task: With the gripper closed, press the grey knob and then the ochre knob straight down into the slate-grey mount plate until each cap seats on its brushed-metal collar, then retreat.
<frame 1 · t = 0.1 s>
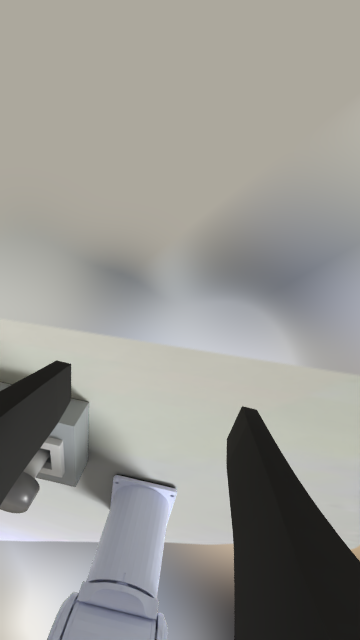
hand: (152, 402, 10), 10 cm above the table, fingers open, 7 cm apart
knob 2: (25, 471, 23), point 5 cm above the table, slide at 0.0 cm
mount plate: (20, 418, 27), on the table
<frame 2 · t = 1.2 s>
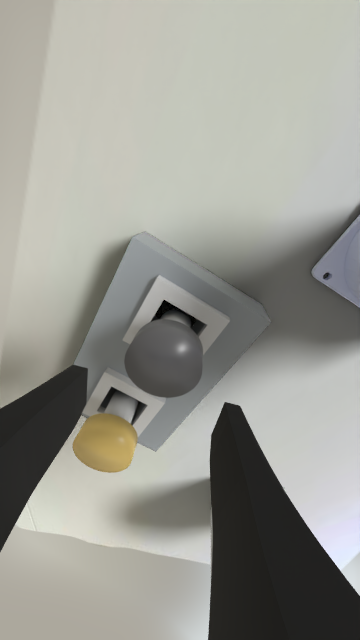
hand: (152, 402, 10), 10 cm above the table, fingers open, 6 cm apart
knob 2: (170, 342, 14), point 5 cm above the table, slide at 0.0 cm
mount plate: (155, 347, 21), on the table
knob 1: (115, 422, 18), point 5 cm above the table, slide at 0.0 cm
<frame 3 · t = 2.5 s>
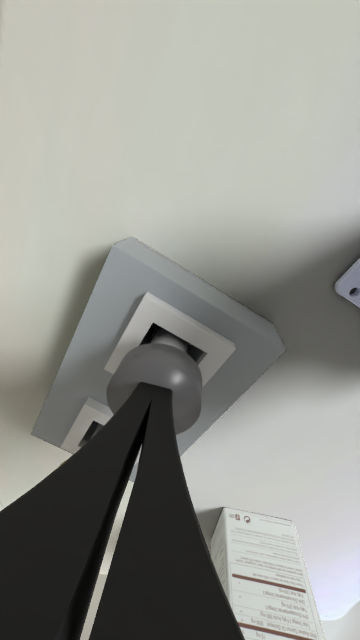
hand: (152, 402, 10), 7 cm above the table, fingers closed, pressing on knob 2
knob 2: (163, 367, 12), point 4 cm above the table, slide at 0.8 cm, touching gripper
supplement box: (249, 527, 26), on the table
mount plate: (146, 370, 18), on the table
knob 1: (97, 464, 15), point 5 cm above the table, slide at 0.0 cm
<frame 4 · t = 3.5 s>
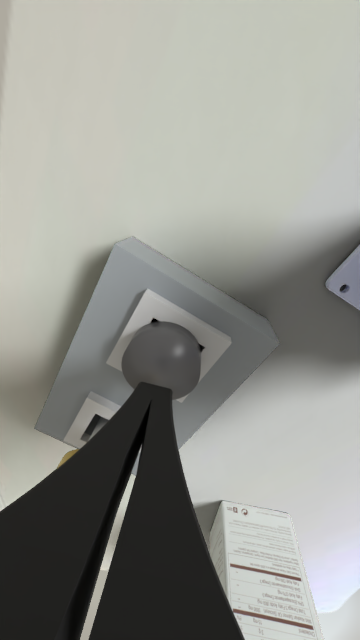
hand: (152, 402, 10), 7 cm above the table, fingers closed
knob 2: (167, 344, 14), point 3 cm above the table, slide at 2.4 cm, touching mount plate
supplement box: (247, 521, 26), on the table
mount plate: (146, 365, 18), on the table
knob 1: (99, 456, 16), point 5 cm above the table, slide at 0.0 cm
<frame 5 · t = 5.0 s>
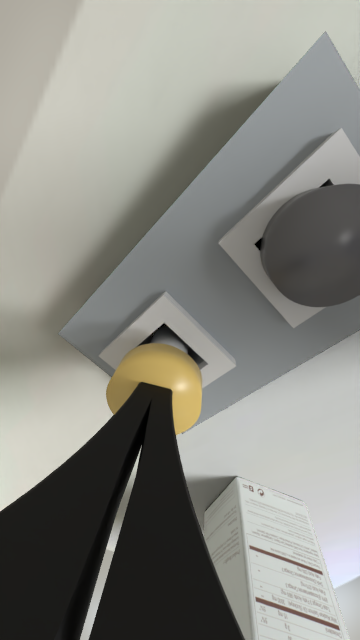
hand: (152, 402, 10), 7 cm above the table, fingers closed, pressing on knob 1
knob 2: (304, 241, 10), point 3 cm above the table, slide at 2.4 cm, touching mount plate
supplement box: (252, 503, 24), on the table
mount plate: (224, 287, 14), on the table
knob 1: (163, 367, 12), point 4 cm above the table, slide at 0.9 cm, touching gripper
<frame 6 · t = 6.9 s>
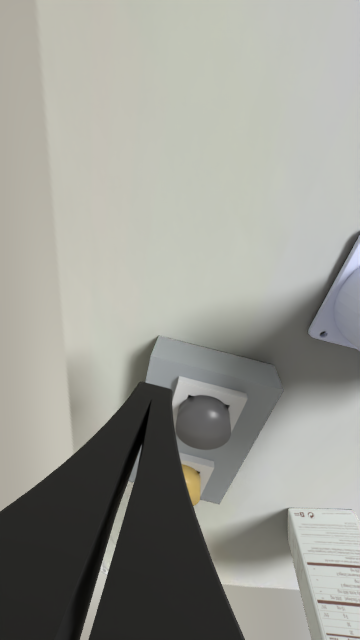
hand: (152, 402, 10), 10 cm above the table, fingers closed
knob 2: (203, 405, 19), point 3 cm above the table, slide at 2.4 cm, touching mount plate
supplement box: (317, 522, 29), on the table
mount plate: (193, 415, 24), on the table
knob 1: (180, 467, 23), point 3 cm above the table, slide at 2.4 cm, touching mount plate
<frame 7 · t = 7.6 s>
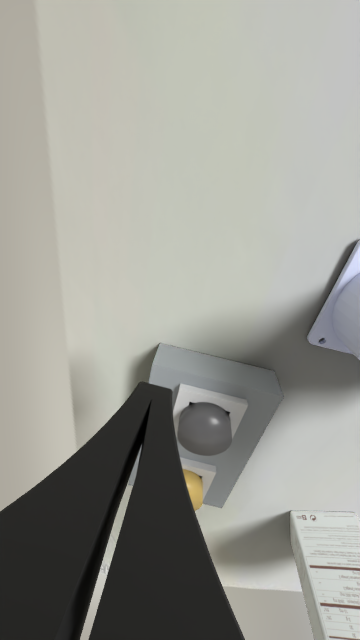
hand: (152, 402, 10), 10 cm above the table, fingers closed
knob 2: (205, 411, 20), point 3 cm above the table, slide at 2.4 cm, touching mount plate
supplement box: (320, 524, 30), on the table
mount plate: (194, 420, 24), on the table
knob 1: (182, 472, 23), point 3 cm above the table, slide at 2.4 cm, touching mount plate
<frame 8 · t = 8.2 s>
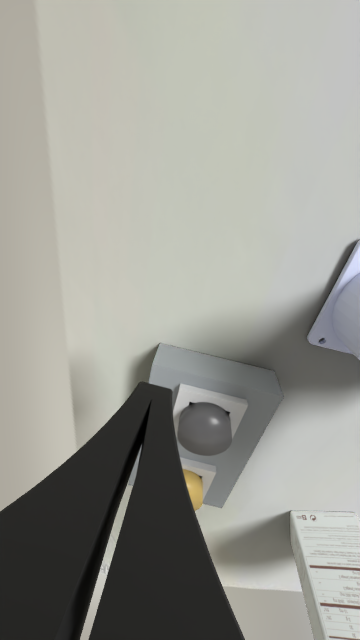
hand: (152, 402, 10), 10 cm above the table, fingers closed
knob 2: (205, 411, 20), point 3 cm above the table, slide at 2.4 cm, touching mount plate
supplement box: (320, 524, 30), on the table
mount plate: (194, 420, 24), on the table
knob 1: (182, 472, 23), point 3 cm above the table, slide at 2.4 cm, touching mount plate
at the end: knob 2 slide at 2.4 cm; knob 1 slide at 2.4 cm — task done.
